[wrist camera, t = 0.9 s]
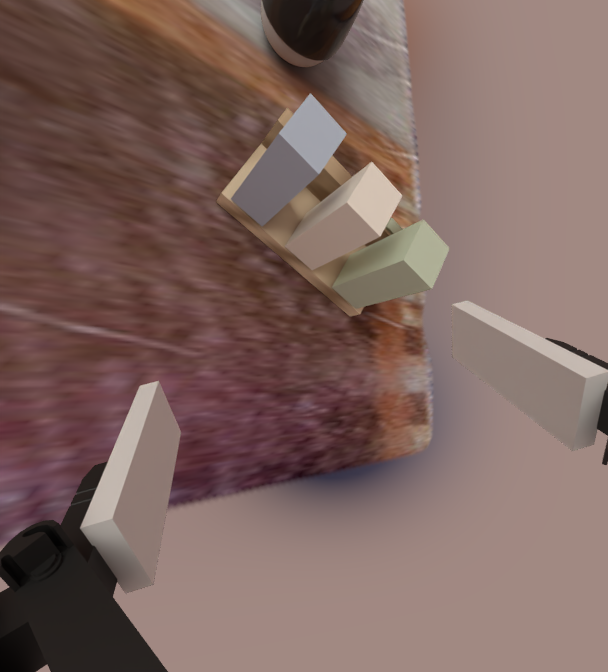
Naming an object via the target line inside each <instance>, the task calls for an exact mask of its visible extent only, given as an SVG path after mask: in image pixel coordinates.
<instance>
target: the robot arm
mask: <svg viewBox="0 0 608 672" xmlns="http://www.w3.org/2000/svg"><path fill="white" fill-rule="evenodd" d="M452 357H453V358H454V359H455V360H456V361H458V362H459V363H460V364H462V365H463V366H464V367H465V368H467V369H468V370H469V371H471V372H472V373H473V374H474V375H476V376H477V377H478V378H480V379H481V380H482V381H483V382H485V383H486V384H487V385H488V386H490V387H491V388H492V389H494V390H495V391H496V392H497V393H499V394H500V395H501V396H503V397H504V398H505V399H506V400H508V401H509V402H510V403H511V404H513V405H514V406H515V407H517V408H518V409H519V410H520V411H522V412H523V413H524V414H526V415H527V416H528V417H529V418H531V419H532V420H533V421H535V422H536V423H537V424H538V425H540V426H541V427H542V428H543V429H545V430H546V431H547V432H549V433H550V434H551V435H552V436H554V437H555V438H556V439H558V440H559V441H560V442H561V443H563V444H564V445H565V446H567V447H568V448H569V449H570V450H572V451H575V450H578V449H581V448H584V447H587V446H591V445H594V442H595V438H596V433H597V429H598V430H600V431H601V432H603V433H605V434H606V435H608V363H606V362H604V361H602V360H600V359H597V358H595V357H594V356H591V355H588V354H587V353H585V352H583V351H581V350H577V348H575V347H573V346H570V345H569V344H566V343H564V342H561V341H557V340H553V339H549V338H545V339H544V338H542V337H540V336H538V335H536V334H534V333H532V332H530V331H528V330H526V329H524V328H522V327H520V326H518V325H516V324H514V323H512V322H510V321H508V320H506V319H504V318H502V317H500V316H498V315H496V314H494V313H492V312H490V311H488V310H486V309H484V308H482V307H480V306H478V305H476V304H474V303H472V302H470V301H463V302H460V303H456V304H452ZM180 435H181V431H180V429H179V427H178V424H177V422H176V420H175V417H174V415H173V413H172V410H171V408H170V406H169V403H168V401H167V399H166V397H165V394H164V392H163V390H162V387H161V385H160V383H159V381H156V382H152V383H149V384H145V385H141V386H140V387H139V389H138V392H137V394H136V396H135V399H134V401H133V404H132V406H131V408H130V411H129V413H128V415H127V418H126V420H125V423H124V425H123V427H122V430H121V432H120V434H119V437H118V439H117V442H116V444H115V446H114V449H113V451H112V453H111V456H110V458H109V461H108V462H105V463H101V464H98V465H95V466H94V467H93V468H92V469H91V470H90V471H89V472H88V474H87V475H86V476H85V477H84V478H83V480H82V482H81V484H80V486H79V488H78V490H77V492H76V493H77V495H75V496H74V498H73V500H72V502H71V506H70V507H69V509H68V511H67V513H66V515H65V517H64V519H63V521H62V523H61V525H59V523H57V522H55V521H54V520H47V521H42V522H39V523H36V524H34V525H31V526H30V527H28V528H26V529H25V530H23V531H21V532H20V533H19V534H18V535H16V536H15V537H14V538H13V539H12V540H10V541H9V542H8V543H7V545H6V546H5V547H4V548H3V549H2V551H1V552H0V577H1V578H2V579H3V580H4V581H5V582H6V583H7V585H8V586H9V588H7V589H6V590H4V591H2V592H0V672H36V671H37V670H39V669H40V668H42V667H43V666H45V665H47V664H48V666H49V669H50V671H51V672H168V671H167V670H166V669H165V667H164V666H163V665H162V663H161V662H160V661H159V659H158V658H157V656H156V655H155V654H154V652H153V651H152V650H151V648H150V647H149V646H148V644H147V643H146V642H145V640H144V639H143V637H142V636H141V635H140V633H139V632H138V631H137V629H136V628H135V627H134V625H133V624H132V623H131V621H130V620H129V619H128V617H127V616H126V614H125V613H124V612H123V610H122V609H121V608H120V606H119V605H118V604H117V602H116V601H115V599H114V598H113V594H114V590H115V587H116V583H117V582H118V584H119V585H120V586H121V588H122V589H123V591H124V592H125V593H129V592H132V591H135V590H138V589H142V588H145V587H148V586H151V585H153V584H154V579H155V573H156V568H157V562H158V556H159V551H160V546H161V540H162V535H163V529H164V524H165V518H166V512H167V507H168V501H169V496H170V490H171V485H172V479H173V474H174V468H175V462H176V457H177V451H178V446H179V440H180ZM607 462H608V440H607V445H606V449H605V452H604V457H603V462H602V464H604V465H607Z"/></svg>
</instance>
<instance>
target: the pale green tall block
mask: <svg viewBox="0 0 608 672" xmlns="http://www.w3.org/2000/svg"><path fill="white" fill-rule="evenodd" d="M448 251H449V247H448V246H447V245H446V244H445V243H444V242H443V241H442V239H441V238H440V237H439V236H438V235H437V234H436V233H435V232H434V231H433V229H432V228H431V227H430V226H429V225H428V224H427V223H426V222H425V220H421V221H419V222H417V223H415V224H413V225H411V226H409V227H407V228H405V229H403V230H400V231H398V232H396V233H394V234H392V235H390V236H388V237H386V238H384V239H382V240H380V241H378V242H376V243H374V244H371V245H369V246H367V247H365V248H363V249H361V250H359V251H357V252H355V253H353V254H351V255H350V256H349V258H348V259H347V261H346V263H345V265H344V266H343V268H342V270H341V272H340V274H339V275H338V277H337V279H336V281H335V282H334V284H333V286H332V288H333V289H334V290H335V291H336V292H337V293H339V294H340V295H341V296H342V297H343V298H344V299H345V300H347V301H348V302H349V303H350V304H351V305H352V306H353V307H355V308H356V309H357V308H361V307H365V306H369V305H373V304H376V303H380V302H384V301H388V300H392V299H396V298H400V297H403V296H407V295H411V294H415V293H419V292H423V291H427V290H430V289H432V288H433V286H434V283H435V281H436V279H437V276H438V274H439V272H440V269H441V267H442V265H443V263H444V260H445V258H446V256H447V253H448Z"/></svg>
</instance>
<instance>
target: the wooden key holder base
mask: <svg viewBox="0 0 608 672" xmlns="http://www.w3.org/2000/svg"><path fill="white" fill-rule="evenodd" d="M293 115H294V114H293V113H292V112H291V111H290V110H289V109H288V108H287V109H286V110H285V111H284V113H283V114H282V115H281V116H280V118H279V119H278V120H277V122H276V123H275V124H274V126H273V127H272V129H271V130H270V132H269V133H268V135H267V136H266V138H265V139H264V140H263V142H262V143H261V145H260V146H259V147H258V148H257V150H256V151H255V152H254V153H253V155H252V156H251V157H250V158H249V159H248V161H247V162H246V163H245V164H244V166H243V167H242V168H241V169H240V171H239V172H238V173H237V174H236V176H235V177H234V178H233V179H232V181H231V182H230V183H229V184H228V186H227V187H226V188H225V189H224V190H223V192H222V193H221V194H220V196H219V197H218V199H217V201H216V202H217V203H218V204H219V205H220V206H221V207H222V208H224V209H225V210H226V211H227V212H228V213H229V214H231V215H232V216H233V217H234V218H235V219H236V220H238V221H239V222H240V223H241V224H242V225H243V226H245V227H246V228H247V229H248V230H249V231H250V232H252V233H253V234H254V235H255V236H256V237H257V238H259V239H260V240H261V241H262V242H263V243H264V244H266V245H267V246H268V247H269V248H270V249H272V250H273V251H274V252H275V253H276V254H277V255H279V256H280V257H281V258H282V259H283V260H284V261H286V262H287V263H288V264H289V265H290V266H291V267H293V268H294V269H295V270H296V271H297V272H298V273H300V274H301V275H302V276H303V277H304V278H305V279H307V280H308V281H309V282H310V283H311V284H312V285H314V286H315V287H316V288H317V289H318V290H319V291H321V292H322V293H323V294H324V295H325V296H326V297H328V298H329V299H330V300H331V301H332V302H333V303H335V304H336V305H337V306H338V307H339V308H340V309H342V310H343V311H344V312H345V313H346V314H347V315H349V316H350V317H351V316H355V315H359V314H361V312H362V310H363V308H364V307H361V308H357V309H356V308H355V307H353V306H352V305H351V304H350V303H349V302H348V301H347V300H345V299H344V298H343V297H342V296H341V295H340V294H339V293H337V292H336V291H335V290H334V289H333V288H332V286H333V284H334V282H335V281H336V279H337V277H338V275H339V274H340V272H341V270H342V268H343V266H344V265H345V263H346V261H347V259H348V258H349V256H350V255H351V254H353V253H355V252H357V251H359V250H361V249H363V248H365V247H367V246H369V245H371V244H374V243H376V242H378V241H380V240H382V239H384V238H386V237H388V236H390V235H392V234H394V233H396V232H398V231H400V230H403V229H402V228H401V227H400V226H399V225H398V224H397V223H396V222H395V220H394V219H393V218H390V220H389V222H388V223H387V225H386V227H385V229H384V231H383V233H382V235H381V236H380V237H379V238H377V239H375V240H373V241H371V242H369V243H367V244H365V245H362V246H360V247H358V248H356V249H354V250H352V251H350V252H348V253H346V254H344V255H342V256H340V257H338V258H336V259H334V260H332V261H330V262H328V263H326V264H324V265H322V266H320V267H318V268H316V269H314V270H311V269H310V268H309V267H308V266H307V265H305V264H304V263H303V262H302V261H301V260H300V259H299V258H297V257H296V256H295V255H294V254H293V253H292V252H291V251H289V250H288V249H287V248H286V247H285V245H286V243H287V242H288V240H289V239H290V237H291V236H292V234H293V233H294V231H295V230H296V228H297V227H298V225H299V224H300V222H301V221H302V219H303V218H304V216H305V214H306V213H307V212H309V211H310V210H311V209H312V208H314V207H315V206H316V205H317V204H319V203H320V202H321V201H323V200H324V199H325V198H326V197H328V196H329V195H330V194H331V193H333V192H334V191H335V190H336V189H338V188H339V187H340V186H342V185H343V184H344V183H345V182H347V181H348V180H349V179H350V178H352V176H351V175H350V174H349V173H348V172H347V171H346V169H345V168H344V167H343V166H342V165H341V164H340V163H339V162H338V161H337V160H336V159H335V158H334V157H333V156H331V158H330V159H329V161H328V162H327V164H326V165H325V167H324V168H323V169H322V171H321V172H320V174H319V175H318V176H317V177H316V178H315V179H314V180H313V181H311V182H310V183H309V184H308V185H307V186H306V187H305V188H304V189H303V190H302V191H301V192H299V193H298V194H297V195H296V196H295V197H294V198H293V199H292V200H291V201H290V202H289V203H288V204H286V205H285V206H284V207H283V208H282V209H281V210H280V211H279V212H278V213H277V214H276V215H275V216H273V217H272V218H271V219H270V220H269V221H268V222H267V223H266V224H265V225H264V226H263V227H262V226H261V225H260V224H258V223H257V222H256V221H255V220H254V219H253V218H252V217H250V216H249V215H248V214H247V213H246V212H245V211H244V210H242V209H241V208H240V207H239V206H238V205H237V204H236V203H234V202H233V201H232V200H231V198H232V196H233V195H234V194H235V192H236V191H237V190H238V188H239V187H240V186H241V184H242V183H243V181H244V180H245V179H246V177H247V176H248V175H249V173H250V172H251V170H252V169H253V168H254V166H255V165H256V164H257V162H258V161H259V160H260V158H261V157H262V155H263V154H264V153H265V151H266V150H267V149H268V147H269V146H270V145H271V143H272V142H273V140H274V139H275V138H276V136H277V135H278V134H279V132H280V131H281V130H282V129H283V127H284V126H285V125H286V123H287V122H288V121H289V120H290V118H291V117H292V116H293Z"/></svg>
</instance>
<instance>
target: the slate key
mask: <svg viewBox="0 0 608 672" xmlns="http://www.w3.org/2000/svg"><path fill="white" fill-rule="evenodd" d="M346 134H347V133H346V132H345V131H344V130H343V129H342V128H341V127H340V126H339V124H338V123H337V122H336V121H335V120H334V119H333V118H332V117H331V115H330V114H329V113H328V112H327V111H326V110H325V109H324V108H323V107H322V105H321V104H320V103H319V102H318V101H317V100H316V99H315V98H314V96H313V95H312V94H311V93H310V94H309V96H308V97H307V98H306V99H305V101H304V102H303V103H302V105H301V106H300V107H299V108H298V110H297V111H296V112H295V113H294V115H293V116H292V117H291V118H290V120H289V121H288V122H287V123H286V125H285V126H284V127H283V129H282V130H281V131H280V132H279V134H278V135H277V136H276V138H275V139H274V140H273V142H272V143H271V145H270V146H269V147H268V149H267V150H266V151H265V153H264V154H263V155H262V157H261V158H260V160H259V161H258V162H257V164H256V165H255V166H254V168H253V169H252V170H251V172H250V173H249V175H248V176H247V177H246V179H245V180H244V181H243V183H242V184H241V186H240V187H239V188H238V190H237V191H236V192H235V194H234V195H233V196H232V198H231V200H232V201H233V202H234V203H236V204H237V205H238V206H239V207H240V208H241V209H242V210H244V211H245V212H246V213H247V214H248V215H249V216H250V217H252V218H253V219H254V220H255V221H256V222H257V223H258V224H260V225H261V226H262V227H263V226H264V225H265V224H266V223H267V222H268V221H269V220H270V219H271V218H272V217H273V216H275V215H276V214H277V213H278V212H279V211H280V210H281V209H282V208H283V207H284V206H285V205H286V204H288V203H289V202H290V201H291V200H292V199H293V198H294V197H295V196H296V195H297V194H298V193H299V192H301V191H302V190H303V189H304V188H305V187H306V186H307V185H308V184H309V183H310V182H311V181H313V180H314V179H315V178H316V177H317V176H318V175H319V174H320V172H321V171H322V169H323V168H324V167H325V165H326V164H327V162H328V161H329V159H330V158H331V156H332V155H333V153H334V152H335V150H336V149H337V147H338V146H339V145H340V143H341V142H342V140H343V139H344V137H345V136H346Z"/></svg>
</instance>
